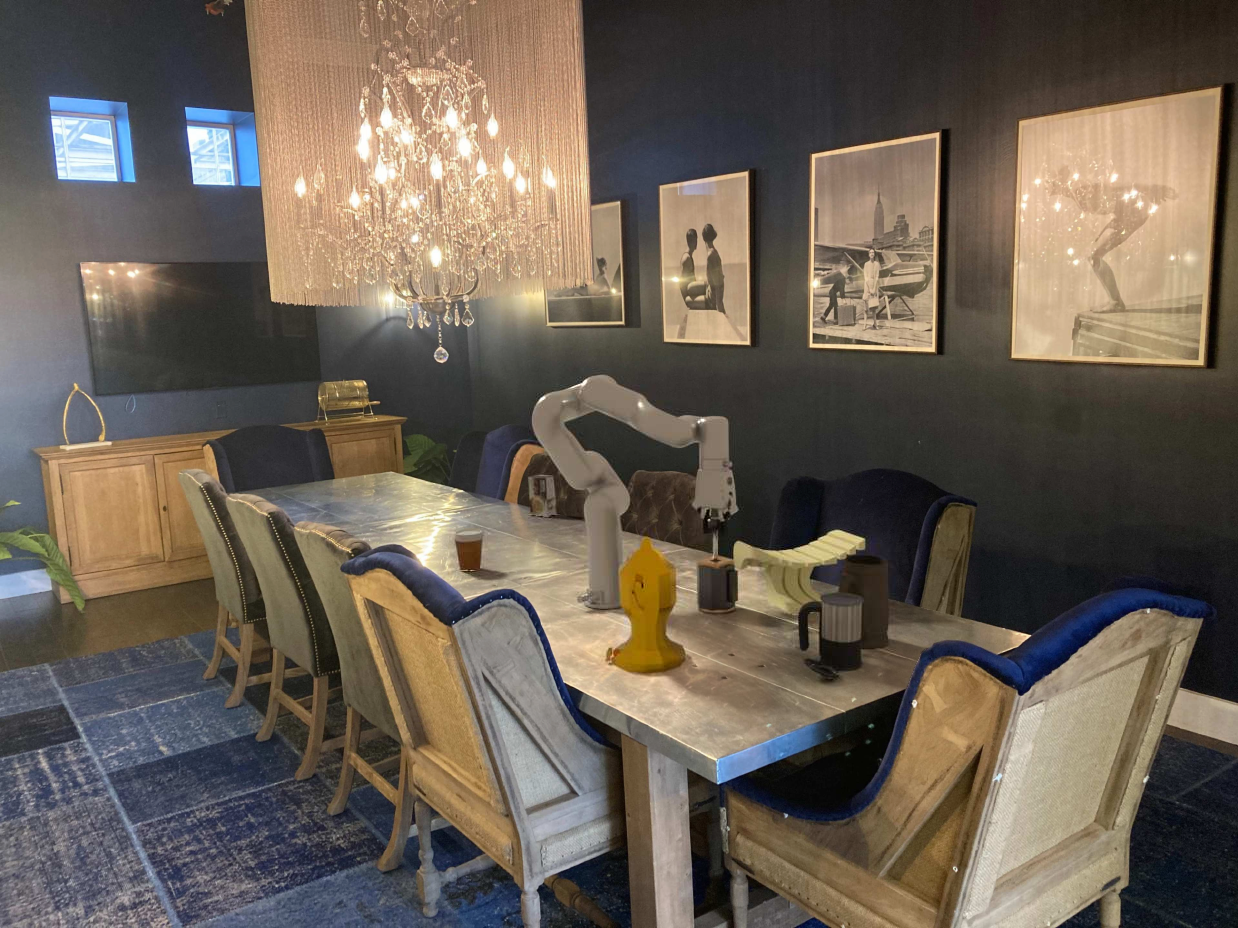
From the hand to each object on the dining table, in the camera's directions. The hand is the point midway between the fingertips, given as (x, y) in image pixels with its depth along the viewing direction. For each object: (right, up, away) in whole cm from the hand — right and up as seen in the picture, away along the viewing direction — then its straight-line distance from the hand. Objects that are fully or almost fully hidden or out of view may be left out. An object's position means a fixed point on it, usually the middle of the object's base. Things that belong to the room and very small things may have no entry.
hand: (715, 533), depth 249 cm
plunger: (0, -11, +2) cm, 11 cm away
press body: (+1, -20, +3) cm, 20 cm away
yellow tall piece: (-19, -26, -34) cm, 47 cm away
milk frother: (+21, -26, -43) cm, 55 cm away
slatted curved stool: (+23, -19, +5) cm, 30 cm away
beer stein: (+31, -24, -28) cm, 48 cm away
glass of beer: (-72, -15, +52) cm, 90 cm away
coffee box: (-55, -3, +137) cm, 148 cm away
